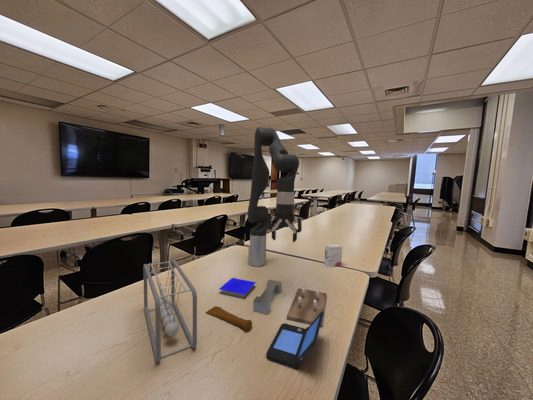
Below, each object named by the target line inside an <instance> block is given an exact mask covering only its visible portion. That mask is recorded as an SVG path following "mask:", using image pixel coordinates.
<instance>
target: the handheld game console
mask: <svg viewBox="0 0 533 400" xmlns="http://www.w3.org/2000/svg"><path fill="white" fill-rule="evenodd" d="M323 314H325V311H324V312H323V311H322V312H321V313H320V314H319V315H318V316H317V318H316V319H315V320H314V321H313V322H312V324H311V325H309V326H306V328H304V327H301V326H297V325H294V324H289V323H286V322H285V323H281V325H280V326H279V329H278V330H277V332H276V334H275V336H274V337H273V339H272V342H271V343H270V345H269V347H268V349H267V351H266V353H265V357H266V358H267V360H268V361H272V362H275V363H278V364H280V365H283V366H285V367H289V368H293V369H295V370H299V368H300V365H301V364H300V363H301V362H302V361H303V359H304V358H305V357H306V356H307V355H308V353H309V352H310V351H311V350H312V349H313V348H314V347H315V345H316V343H317V341H318V340H317V339H318V337H319V333H320V330H321V327H320V325H321V321H322V318H323V319H324V315H323Z"/></svg>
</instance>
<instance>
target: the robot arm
mask: <svg viewBox="0 0 533 400" xmlns="http://www.w3.org/2000/svg"><path fill="white" fill-rule="evenodd" d="M253 140H254V148H253V149H254V150H253V164H252V172H251V173H252V174H251V188H250V197H249V202H248V208H247V220H248V222H249V223H251V224H257V225H255V226H254V227H251V228H250V230H249V247H248V253H247V254H248V255H247V259H248V260H247V264H248V265H250V264H251V265H250V266H252V265H253V266H252V267H257V266H259V267H263V266H262V265H264V264H265V265H266V261H267V260H266V258H267V257H266V256H267V233H268V232H267V231H268V230H269V231H271V239H272V240H273V241H276V240H277V239H276V238H277V229H278V227H280V228H282V227H284V228H289V229H290V230H291V231H292V243H295V242H296V241H297V239H298V234H299V233H301V232H302V217H300V216H298V217H295V181H296V177H297V173H298V170H299V167H300V159H299V157H298V156H297V155H296V154H289V152H288V149H286V148H285V147H284V145H283V144H282V142H281V140H280V137H279V134H278V132H277V131H276V130H275V129H273V128H269V127H260V126H258V127H256V129H255V133H254V139H253ZM262 147H268V152H269V155H270V157H271V158H272V160H273V168H274V169H275V170H276V171H277V172H286V173H287V175H286V176H282V177H278V178H277V183H276V185H277V186H276V189H277V190H276V196H275V199H276V200H275V215H272V214H271V215H269V210H268V208H267V206H265V205H264V206H263V205H258V204H259V201H260V198H261V196H262V195H263V194H264V192H265V191H266V189H267V187H268V185H269V182H270V181H269V180H270V169H269V166H268V165H267V162H266V161H265V158H264V156H263V149H262ZM274 220H275V222H276V223H275V224H274V226H273V221H274ZM294 222H295V223H297V227H296V226H295V225H294ZM265 265H264V266H265Z"/></svg>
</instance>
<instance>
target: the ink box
mask: <svg viewBox="0 0 533 400" xmlns="http://www.w3.org/2000/svg"><path fill="white" fill-rule="evenodd" d="M342 255H343V246H342V245H340V244H338V243H337V244H336V243H334V244H333V243H331V244H324V259H323V262H324V263H323V264H324V265H325V264H326V265H328V266H333V267H341V266H342V257H343V256H342ZM326 265H325V266H326Z"/></svg>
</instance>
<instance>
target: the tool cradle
mask: <svg viewBox="0 0 533 400" xmlns="http://www.w3.org/2000/svg"><path fill="white" fill-rule="evenodd" d="M326 302H327V293H326V292H321V291H320V290H319V289H316V290H312V289H311V290H310V289H306V288H305V287H304V286H303V287H301V288H297V291H296V293H295V296H294V298H293V301H292V303H291V305H290V308H289V310H288V312H287V314H286V320H288V321H293V322H297V323H301V324H306V325H309V326H310V325H311V324H312V322H313V321H314V320H315V319H316V318H317V316H318V315H319V314H320V313H321V312H322V311H323V312H324V314H325V306H326ZM324 314H323V316H324ZM323 321H324V317H323V318H322V321H321V325H320V328H323Z"/></svg>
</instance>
